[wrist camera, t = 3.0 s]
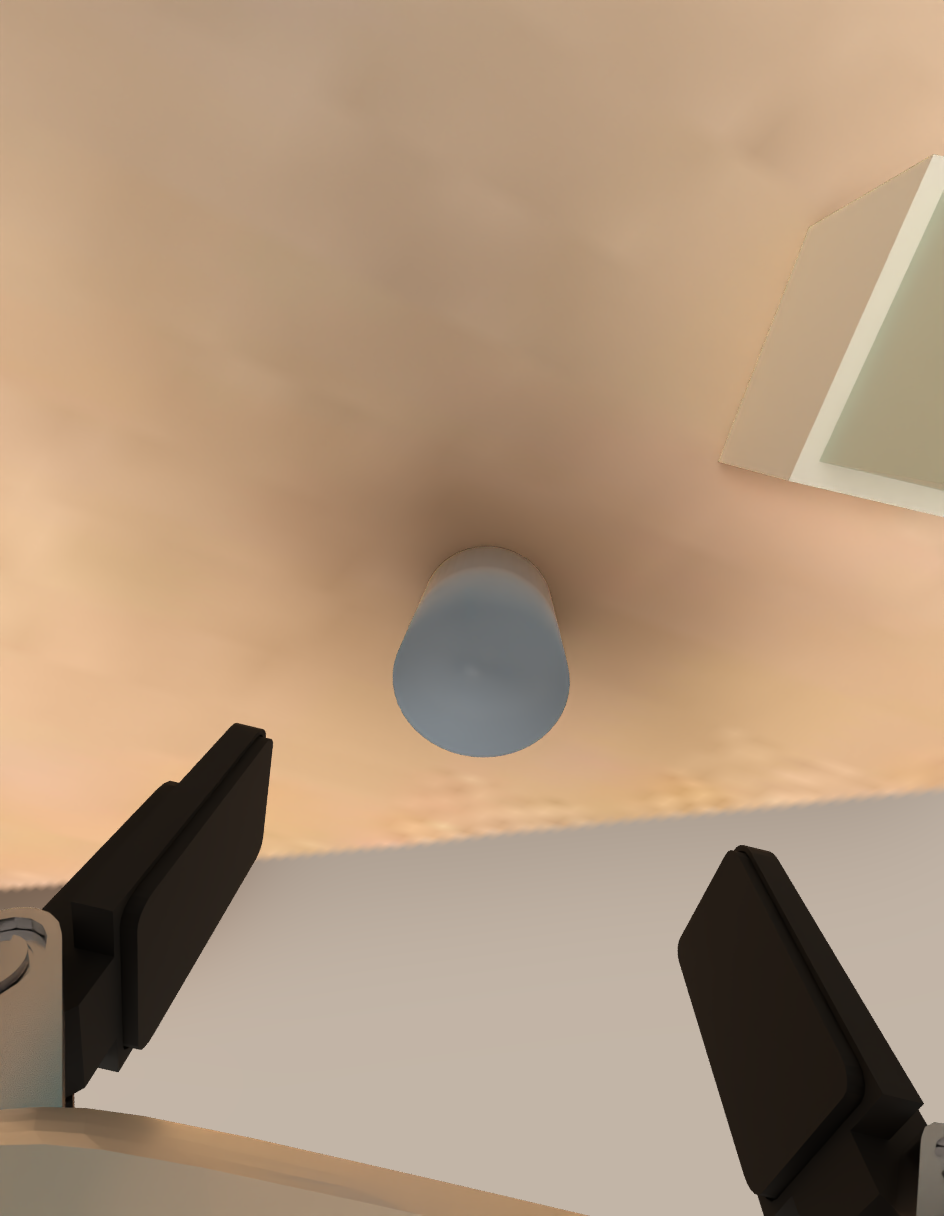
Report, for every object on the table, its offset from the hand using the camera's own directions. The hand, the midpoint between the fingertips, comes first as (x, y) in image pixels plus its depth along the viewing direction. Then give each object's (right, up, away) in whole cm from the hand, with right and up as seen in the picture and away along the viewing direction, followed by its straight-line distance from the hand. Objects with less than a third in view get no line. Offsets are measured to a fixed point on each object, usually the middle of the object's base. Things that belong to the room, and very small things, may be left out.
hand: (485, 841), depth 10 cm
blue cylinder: (0, +5, +10) cm, 11 cm away
